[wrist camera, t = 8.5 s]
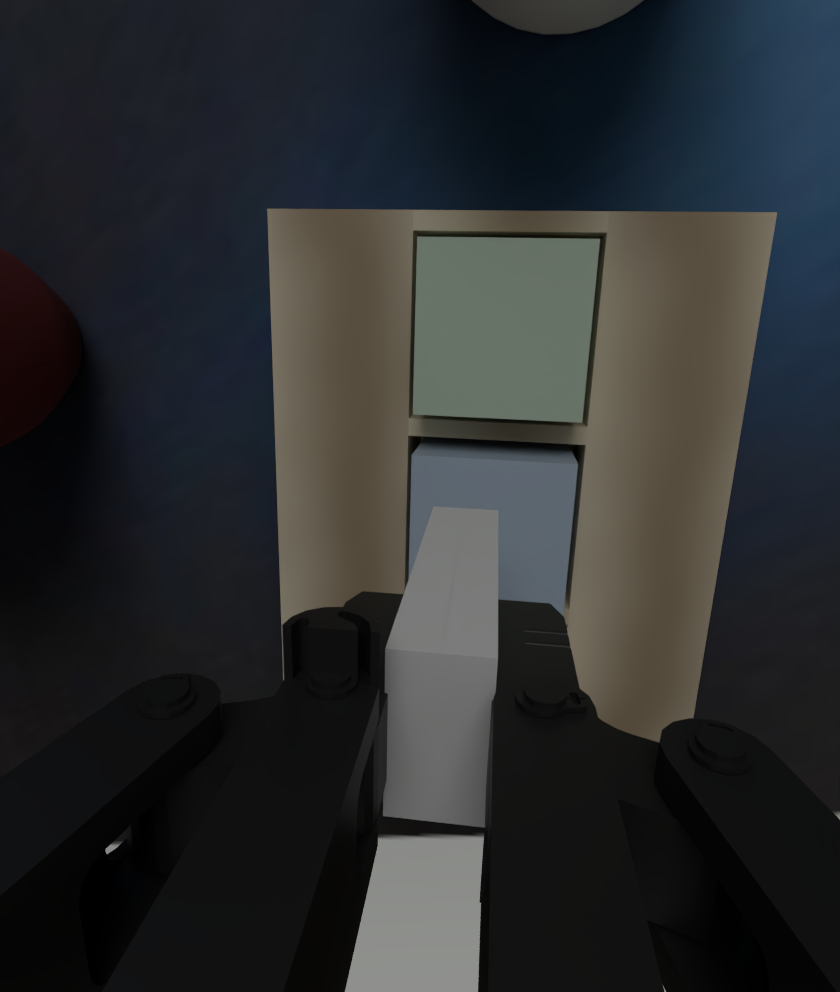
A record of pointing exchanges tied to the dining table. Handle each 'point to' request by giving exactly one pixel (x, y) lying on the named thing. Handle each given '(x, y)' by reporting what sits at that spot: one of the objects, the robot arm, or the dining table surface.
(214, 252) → the dining table surface
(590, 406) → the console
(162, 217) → the dining table surface
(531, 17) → the pill bottle
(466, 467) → the tile slate
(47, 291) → the mug
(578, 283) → the tile sage
